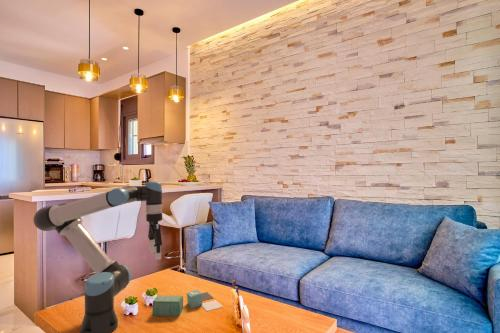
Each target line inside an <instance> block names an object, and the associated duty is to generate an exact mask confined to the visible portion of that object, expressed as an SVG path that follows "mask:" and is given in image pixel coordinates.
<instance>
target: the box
mask: <svg viewBox="0 0 500 333" xmlns="http://www.w3.org/2000/svg"><path fill="white" fill-rule="evenodd" d="M183 307H184V296H183V295H161V294H160V295H159V294H158V295H156V296H155V298H154V299H153V300H152V316H155V317H159V316H161V317H168V316H169V317H180V315H181V313H182V311H183V309H184V308H183Z"/></svg>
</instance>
